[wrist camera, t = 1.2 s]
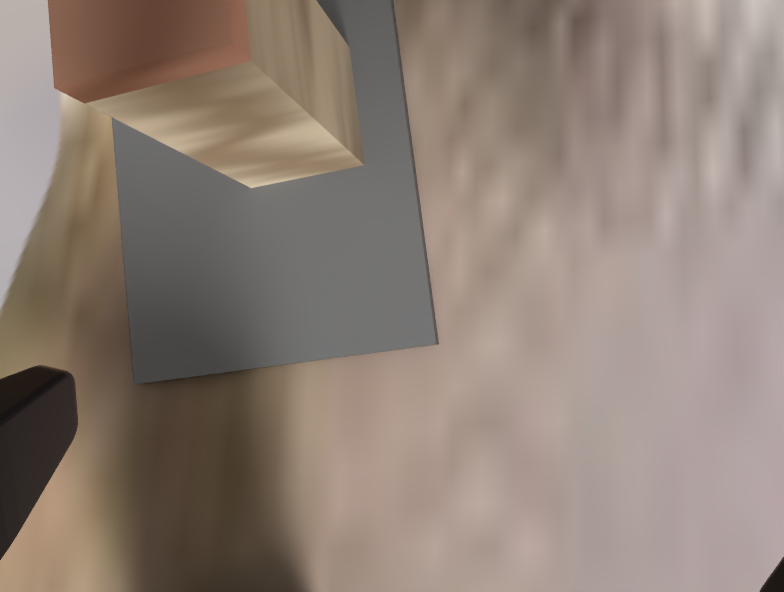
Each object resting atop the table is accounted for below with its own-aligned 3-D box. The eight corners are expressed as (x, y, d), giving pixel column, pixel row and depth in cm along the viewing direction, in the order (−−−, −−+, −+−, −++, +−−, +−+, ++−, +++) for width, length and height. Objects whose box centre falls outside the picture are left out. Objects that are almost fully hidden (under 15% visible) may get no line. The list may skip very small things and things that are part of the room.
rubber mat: (141, 383, 26) (133, 384, 25) (102, -85, 28) (94, -92, 28) (438, 344, 23) (436, 344, 23) (369, -173, 25) (366, -183, 25)
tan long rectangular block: (251, 188, 25) (54, 88, 15) (239, 74, 25) (41, -92, 16) (364, 165, 24) (230, 42, 14) (349, 47, 24) (210, -150, 15)
